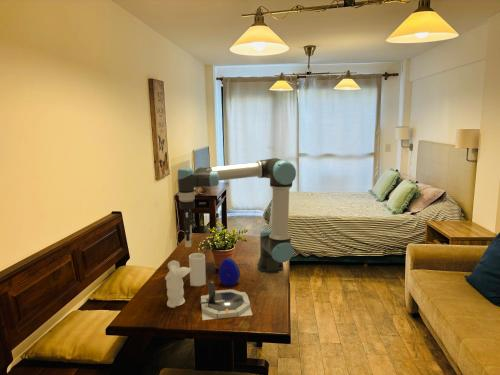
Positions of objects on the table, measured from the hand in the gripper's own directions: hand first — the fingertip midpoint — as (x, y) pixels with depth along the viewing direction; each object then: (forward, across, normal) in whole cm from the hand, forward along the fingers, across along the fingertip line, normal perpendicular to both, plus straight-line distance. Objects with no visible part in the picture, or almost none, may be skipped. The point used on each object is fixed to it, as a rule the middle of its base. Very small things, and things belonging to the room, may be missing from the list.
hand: (188, 242), depth 180 cm
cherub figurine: (+27, +12, -5) cm, 30 cm away
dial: (+25, +18, +16) cm, 35 cm away
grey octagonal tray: (+26, +18, +16) cm, 36 cm away
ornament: (+26, -4, +20) cm, 33 cm away
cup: (+26, -8, +4) cm, 28 cm away
